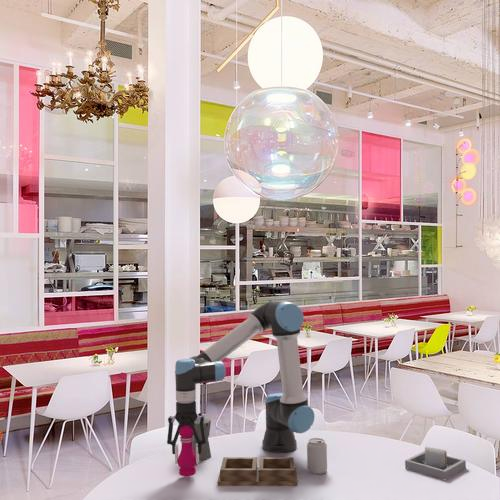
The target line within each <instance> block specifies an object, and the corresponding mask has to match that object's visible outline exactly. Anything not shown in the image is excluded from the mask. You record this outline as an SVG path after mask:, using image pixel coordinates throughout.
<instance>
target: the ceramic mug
mask: <svg viewBox="0 0 500 500" xmlns="http://www.w3.org/2000/svg"><path fill="white" fill-rule="evenodd" d="M424 451H425V461H424V465H428V466H431V467H435V468H438V469H442V470H445V469H446V468H448V467H447V466H448V465H447V456H448V454H447V453H448V452H447V450H445V449H441V448H435V447H431V446H425V447H424Z"/></svg>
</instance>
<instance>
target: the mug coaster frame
mask: <svg viewBox="0 0 500 500" xmlns="http://www.w3.org/2000/svg"><path fill="white" fill-rule="evenodd" d="M422 462H425V450H424V451H422V452H420V453H418V454H415V455H413V456H411V457H409V458H408V459H405V460H404V467H405V469H407V470H410V471H414V472H417V473H420V474H423V475H427V476H430V477H434V478H438V479H440V480H443V481H446V480H448V479H449V478H452V477H453V476H455V475H457V474H459V473H460V472H462V471H464V470H466V469H467V466H466V465H467V464H466V462H467V461H466V460H465V459H462V458H457V457H454V456H451V455H447V466H448V465H449V467H446V469H438V468H435V467H431V466H428V465H425V463H422Z"/></svg>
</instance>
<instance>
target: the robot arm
mask: <svg viewBox="0 0 500 500" xmlns="http://www.w3.org/2000/svg"><path fill="white" fill-rule="evenodd" d="M304 318H305V317H304V313H303V311H302V309H301V307H300V306H299V305H298V304H296V303H294V302H291V301H285V300H283V301H281V300H279V301H278V300H270V301H267V302H265V303H263V304H262V305H260V306H259V307H257V308H256V309H255V310H254V311H252V312H250V313H249V314H247V318H246V319H245V320H244V321H243V322H241V323H239V324H238V325H237V326H235V327H234V328H233V329H232V330H230V331H229V332H228V333H226V334H225V335H224V336H222V337H221V338H220V339H218V340H217V341H216V342H214V343H213V344H212V345H210V346H209V347H208V348H206V349H205V350H204V351H202V352H201V353H199V354H198V355H193V356H191V357H189V358H181V359H178V360H176V361H175V366H174V367H175V369H174V370H175V371H174V374H175V375H174V376H175V379H174V380H175V401H176V402H175V414H174V415H173V416H172V415H170V416H168V418H167V421H168V422H167V423H168V431H167V440H166V443H167V445H170V446H171V452H172V454H173V455H174V464H175V465H178V457H179V444H178V443H177V442H178V439H179V436H180V435H179V429H181V426H183V425H189V426H190V427H191V429H193V434H194V436H195V439H196V441H197V444H196V465H197V464H199V462H200V460H199V454H201V452H202V444H205V443H206V434H205V427H204V418H206V417H205V415H202V416H198V413H197V400H196V399H197V390H196V389H197V388H196V386H197V384H198V385H199V384H204V383H214V382H219V381H223V380H224V379H225V377H226V371H227V370H226V366H225V364H224V362H223V360H224V359H225V358H227V357H228V356H229V355H231V354H232V353H234V351H236V350H237V349H238V348H240V347H242V345H244V344H245V343H246V342H248V341H250V340H251V339H252V338H253V337H255V336H256V335H257V334H258V333H259V334H262V333H264V332H265V331H267V330H269V329H271V334H272V337H274V339H276V346H277V353H278V355H277V356H278V362H279V372H280V382H281V390H282V392H279V393H278V392H277V393H270V394H268V395H266V397H265V404H264V405H265V432H264V435H263V439H262V442H261V443H262V444H261V446H262V449H263V450H265V451H267V452H268V451H269V452H272V453H286V452H287V453H288V452H292V451H294V450H296V449H297V446H298V445H297V444H298V443H297V439H296V437H295V436H296V435H295V433H296V434H304V433H306V432H308V431H309V430H310V429H311V427H312V426H313V425H314V422H315V416H316V415H315V412H314V410H313V408H311V406H309V399H308V396H307V395H306V394H305V393H304V388H303V381H302V380H303V378H302V369H301V361H300V352H299V344H298V343H299V342H298V336H299V335H300V334H301V327H302V325H303V323H304ZM196 419H198V421H199V422H200V429H201V436H202V440H201V439H200V436H199V434H198V431H197V429H196V426H195V423H194V422H195V420H196ZM175 420H176V422H177V423H178V426H177V429H176V431H175V434H174V437H173V431H174V430H173V429H174V428H173V427H174V422H175ZM172 438H173V439H172Z"/></svg>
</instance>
